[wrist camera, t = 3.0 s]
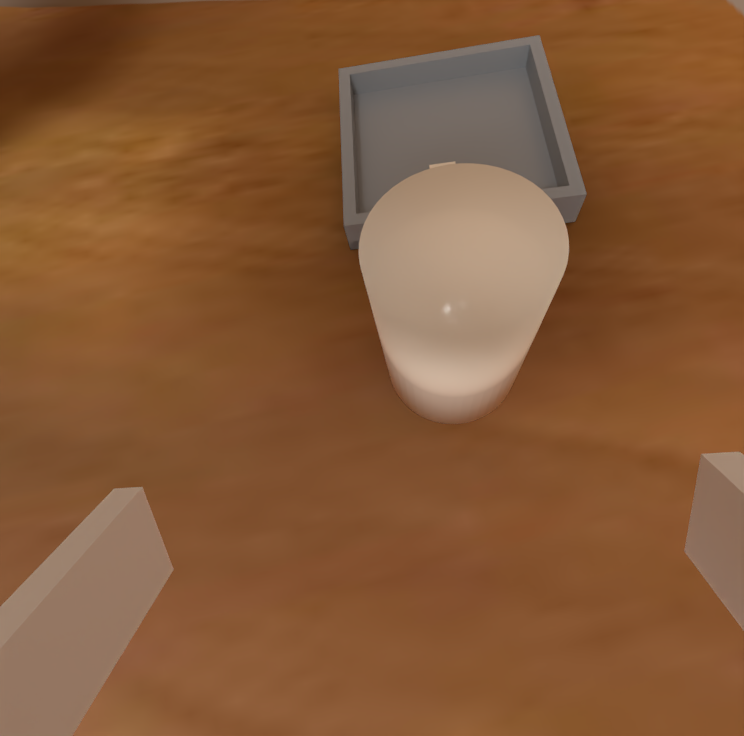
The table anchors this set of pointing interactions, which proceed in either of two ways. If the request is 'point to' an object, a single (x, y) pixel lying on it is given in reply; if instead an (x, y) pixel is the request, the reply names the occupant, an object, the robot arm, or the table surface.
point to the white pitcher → (460, 283)
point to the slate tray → (454, 123)
